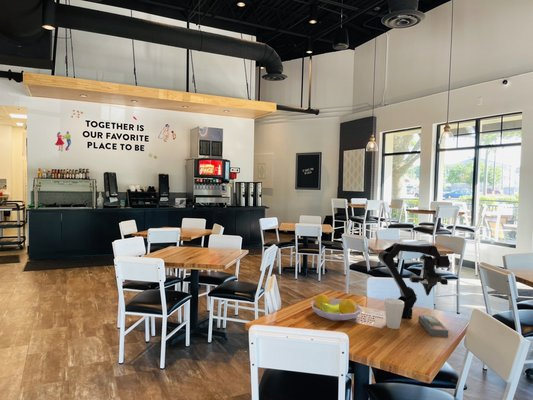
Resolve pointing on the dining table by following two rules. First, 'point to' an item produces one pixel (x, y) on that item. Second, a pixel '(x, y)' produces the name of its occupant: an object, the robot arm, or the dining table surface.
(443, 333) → the button panel
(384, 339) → the dining table surface
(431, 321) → the sage button
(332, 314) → the fruit bowl
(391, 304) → the foam cup
